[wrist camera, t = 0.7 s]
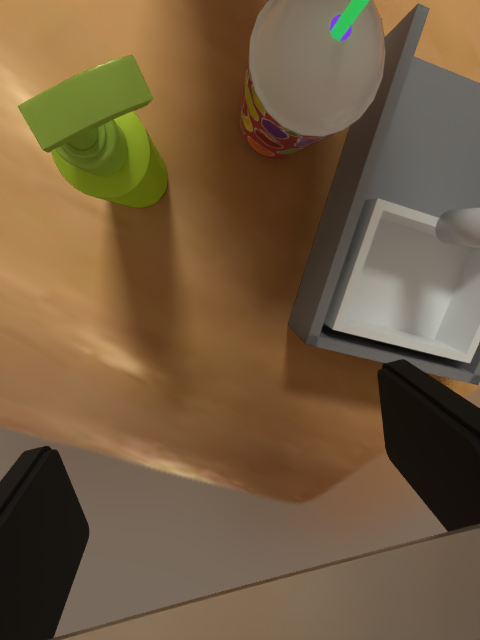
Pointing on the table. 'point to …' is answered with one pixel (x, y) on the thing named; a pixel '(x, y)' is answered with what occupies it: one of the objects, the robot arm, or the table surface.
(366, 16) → the smoothie
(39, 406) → the table surface
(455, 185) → the bay
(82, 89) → the soap dispenser
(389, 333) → the drawer
